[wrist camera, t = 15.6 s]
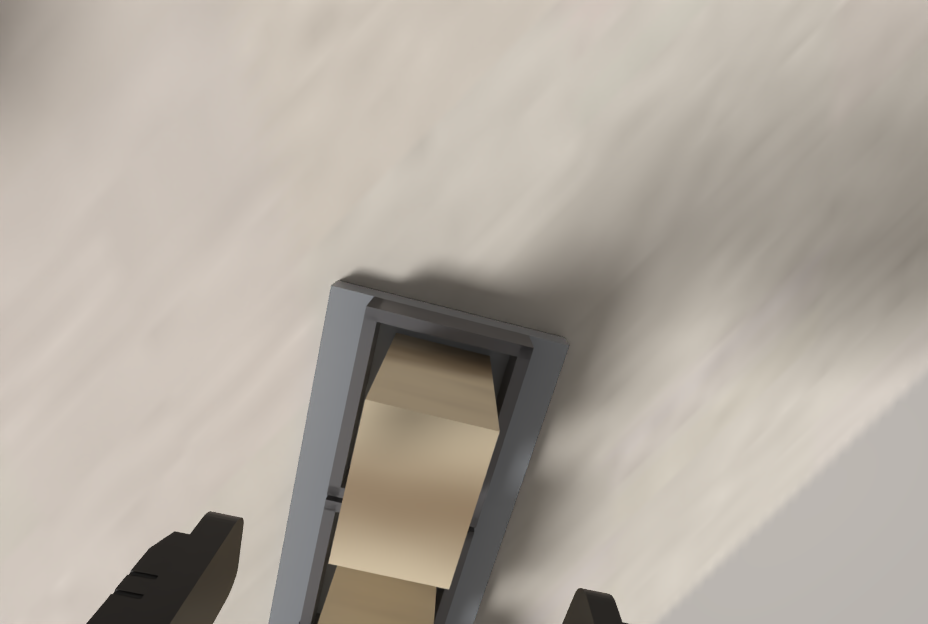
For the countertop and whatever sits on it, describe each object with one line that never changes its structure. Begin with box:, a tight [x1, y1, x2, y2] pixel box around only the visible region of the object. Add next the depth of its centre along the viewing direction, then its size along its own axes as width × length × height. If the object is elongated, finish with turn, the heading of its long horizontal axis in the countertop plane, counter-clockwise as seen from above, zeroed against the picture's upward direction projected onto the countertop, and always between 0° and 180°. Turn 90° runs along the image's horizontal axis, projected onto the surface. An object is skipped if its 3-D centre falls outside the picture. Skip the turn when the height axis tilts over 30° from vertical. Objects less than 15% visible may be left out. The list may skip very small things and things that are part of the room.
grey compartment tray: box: [269, 280, 569, 624], centre depth 20 cm, size 25×10×6 cm, turn 165°
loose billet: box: [328, 333, 500, 589], centre depth 17 cm, size 6×4×6 cm, turn 165°
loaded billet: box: [318, 566, 436, 624], centre depth 19 cm, size 6×4×6 cm, turn 165°
